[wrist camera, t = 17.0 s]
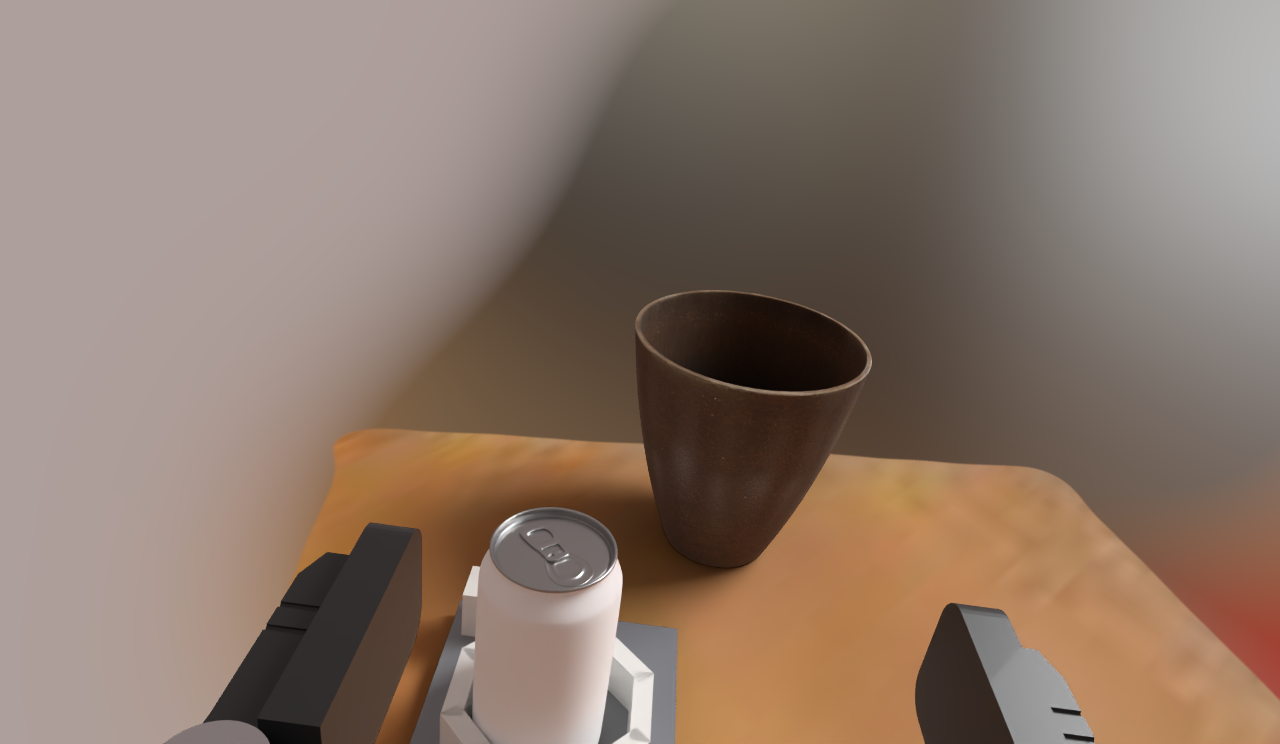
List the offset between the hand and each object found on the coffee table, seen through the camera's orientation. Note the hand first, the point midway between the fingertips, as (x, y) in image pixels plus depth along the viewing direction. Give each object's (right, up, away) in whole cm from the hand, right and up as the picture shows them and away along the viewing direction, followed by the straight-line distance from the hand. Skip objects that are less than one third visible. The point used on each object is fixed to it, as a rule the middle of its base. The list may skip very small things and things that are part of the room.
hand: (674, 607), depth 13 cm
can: (-6, -15, +29) cm, 33 cm away
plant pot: (+5, -8, +47) cm, 48 cm away
